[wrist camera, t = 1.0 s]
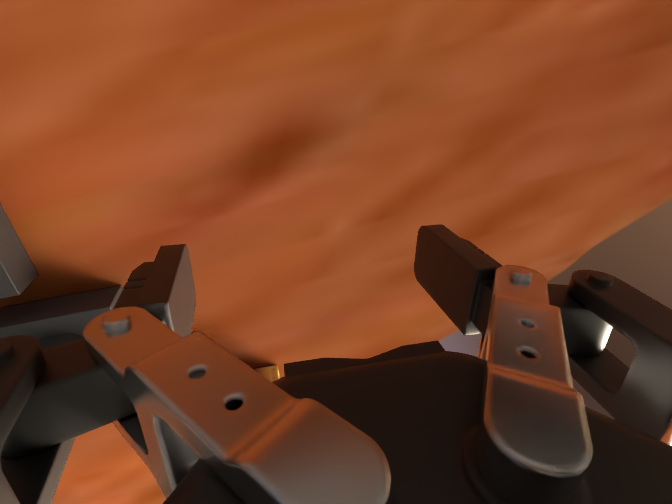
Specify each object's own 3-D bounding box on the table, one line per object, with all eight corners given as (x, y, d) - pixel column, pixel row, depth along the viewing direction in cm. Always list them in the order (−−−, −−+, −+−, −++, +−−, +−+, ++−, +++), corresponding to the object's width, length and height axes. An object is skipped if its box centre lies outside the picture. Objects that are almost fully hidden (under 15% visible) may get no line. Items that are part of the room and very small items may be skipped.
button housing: (0, 307, 30) (-40, 349, 26) (121, 284, 31) (102, 320, 27) (55, 395, 35) (29, 444, 30) (158, 372, 36) (147, 415, 32)
